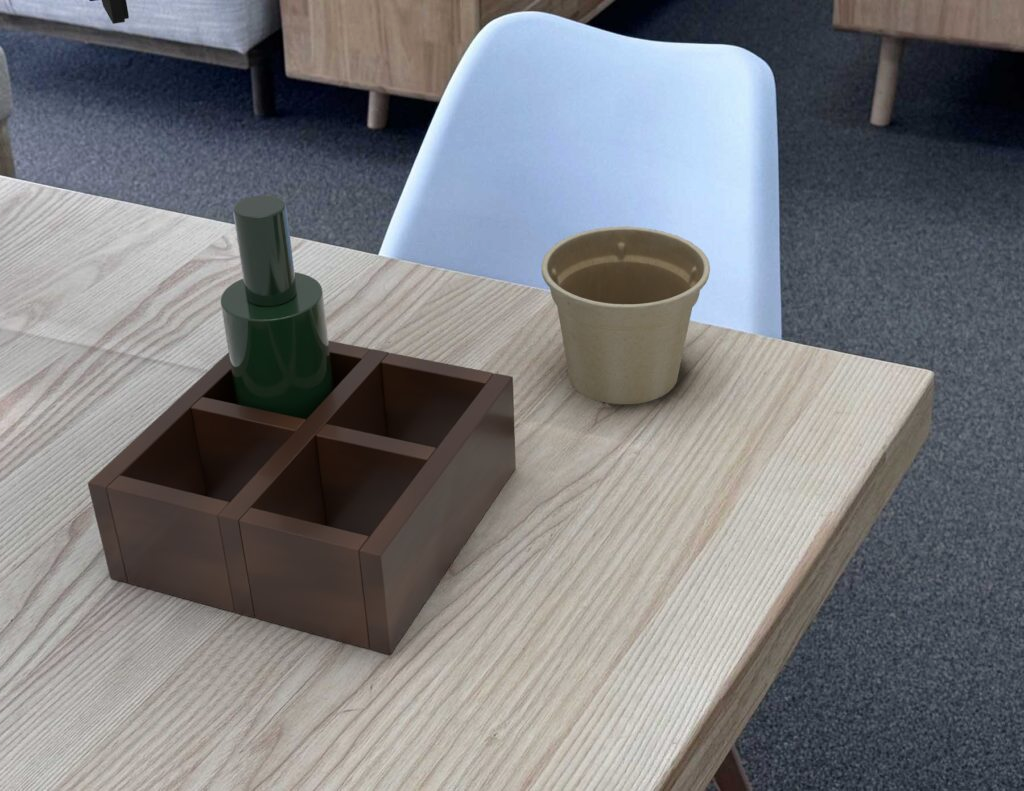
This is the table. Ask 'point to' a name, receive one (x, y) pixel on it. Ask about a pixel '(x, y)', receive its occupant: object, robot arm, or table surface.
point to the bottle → (274, 318)
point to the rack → (312, 494)
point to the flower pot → (624, 308)
